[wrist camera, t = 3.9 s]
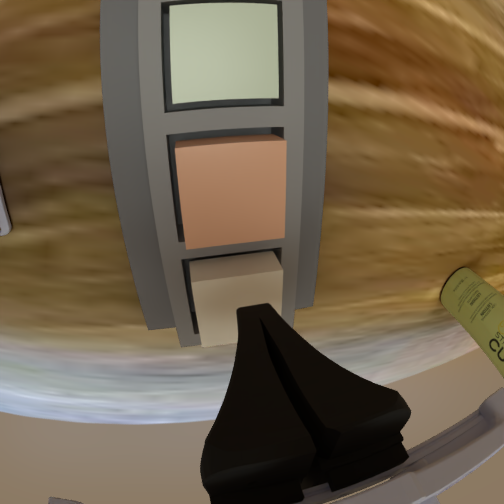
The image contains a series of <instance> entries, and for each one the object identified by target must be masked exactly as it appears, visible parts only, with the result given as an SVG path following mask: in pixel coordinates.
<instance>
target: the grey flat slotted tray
mask: <svg viewBox="0 0 504 504" xmlns="http://www.w3.org/2000/svg"><path fill="white" fill-rule="evenodd" d="M200 3H259V4H275V5H277V22H278V74H279V98H250V99H225V100H209V101H196V102H185V103H176V104H173V103H172V84H171V60H170V6H173V5H184V4H200ZM100 59H101V80H102V95H103V108H104V118H105V128H106V136H107V145H108V152H109V159H110V166H111V173H112V179H113V185H114V191H115V196H116V202H117V207H118V212H119V218H120V222H121V227H122V232H123V237H124V241H125V246H126V250H127V254H128V258H129V262H130V266H131V270H132V274H133V278H134V282H135V286H136V290H137V293H138V297H139V300H140V304H141V307H142V311H143V314H144V317H145V321H146V324H147V327H148V330H155V329H164V328H173V327H176V329H177V333H178V337H179V341H180V345H181V347H187V346H195V345H202V344H201V338H200V333H199V327H198V322H197V316H196V310H195V304H194V298H193V292H192V285H191V276H190V265H189V261H195V260H203V259H211V258H219V257H227V256H235V255H243V254H251V253H259V252H267V251H273V252H274V254H275V256H276V258H277V259H278V261H279V263H280V265H281V267H282V268H283V291H282V311H281V317H282V318H283V319H284V320H285V321H286V322H287V323H288V324H289V325H290V326H291V327H292V328H293V323H294V311H295V309H300V308H306V307H311V306H313V301H314V293H315V285H316V276H317V267H318V257H319V247H320V236H321V225H322V213H323V200H324V185H325V168H326V148H327V122H328V24H327V0H101V7H100ZM261 134H274V135H276V136H278V137H280V138H283V139H285V140H287V151H286V206H285V238H279V239H271V240H262V241H254V242H246V243H237V244H229V245H221V246H212V247H204V248H196V249H188V250H186V244H185V237H184V229H183V221H182V213H181V204H180V195H179V186H178V176H177V166H176V155H175V144H176V141H181V140H191V139H201V138H212V137H225V136H241V135H261Z"/></svg>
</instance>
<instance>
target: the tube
mask: <svg viewBox="0 0 504 504" xmlns="http://www.w3.org/2000/svg"><path fill="white" fill-rule="evenodd" d="M441 303H442V305H443V306H444V307H445V308H446V309H447V310H448V311H449V312H450V313H451V314H452V315H453V316H454V318H455V319H456V320H457V321H458V322H459V323H460V324H461V325H462V326H463V328H464V329H465V330H466V331H467V332H468V333H469V334H470V336H471V337H472V338H473V339H474V340H475V341H476V343H477V344H478V345H479V346H480V348H481V349H482V350H483V351H484V352H485V354H486V355H487V356H488V357H489V359H490V360H491V362H492V363H493V364H494V365H495V367H496V368H497V369H498V371H499V372H500V374H501V375H502V376H503V378H504V295H502V294H501V293H500V292H499V291H497V290H496V289H495V288H494V287H492V286H491V285H490V284H488V283H487V282H486V281H485V280H483V279H482V278H481V277H480V276H478V275H477V274H476V273H474V272H473V271H472V270H470V269H469V268H466V267H465V268H461V269H459V270H458V271H456V272H455V273H454V274H453V275H452V276H451V277H450V279H449V280H448V281H447V283H446V285H445V287H444V289H443V291H442V294H441Z"/></svg>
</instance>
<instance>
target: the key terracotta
mask: <svg viewBox="0 0 504 504" xmlns="http://www.w3.org/2000/svg"><path fill="white" fill-rule="evenodd" d="M286 151H287V140H285V139H283V138H280V137H278V136H276V135H274V134H261V135H241V136H225V137H212V138H201V139H191V140H181V141H176V144H175V155H176V166H177V176H178V186H179V195H180V204H181V213H182V221H183V229H184V237H185V244H186V250H188V249H196V248H204V247H212V246H221V245H229V244H237V243H246V242H254V241H262V240H271V239H279V238H285V206H286Z"/></svg>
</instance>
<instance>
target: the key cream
mask: <svg viewBox="0 0 504 504" xmlns="http://www.w3.org/2000/svg"><path fill="white" fill-rule="evenodd" d="M189 265H190V276H191V285H192V292H193V298H194V304H195V310H196V316H197V322H198V327H199V333H200V338H201V344H202V348H203V347H211V346H218V345H225V344H231V343H237V342H238V326H237V315H236V310H237V309H238V308H239V307H245V306H251V305H257V304H263V303H269V304H271V305H272V307H273V308H274V309H275V310H276V311H277V313H278V314H279V315H280V316H281V311H282V291H283V268H282V267H281V265H280V263H279V261H278V259H277V258H276V256H275V254H274V252H273V251H267V252H259V253H251V254H243V255H235V256H227V257H219V258H211V259H203V260H195V261H189Z"/></svg>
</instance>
